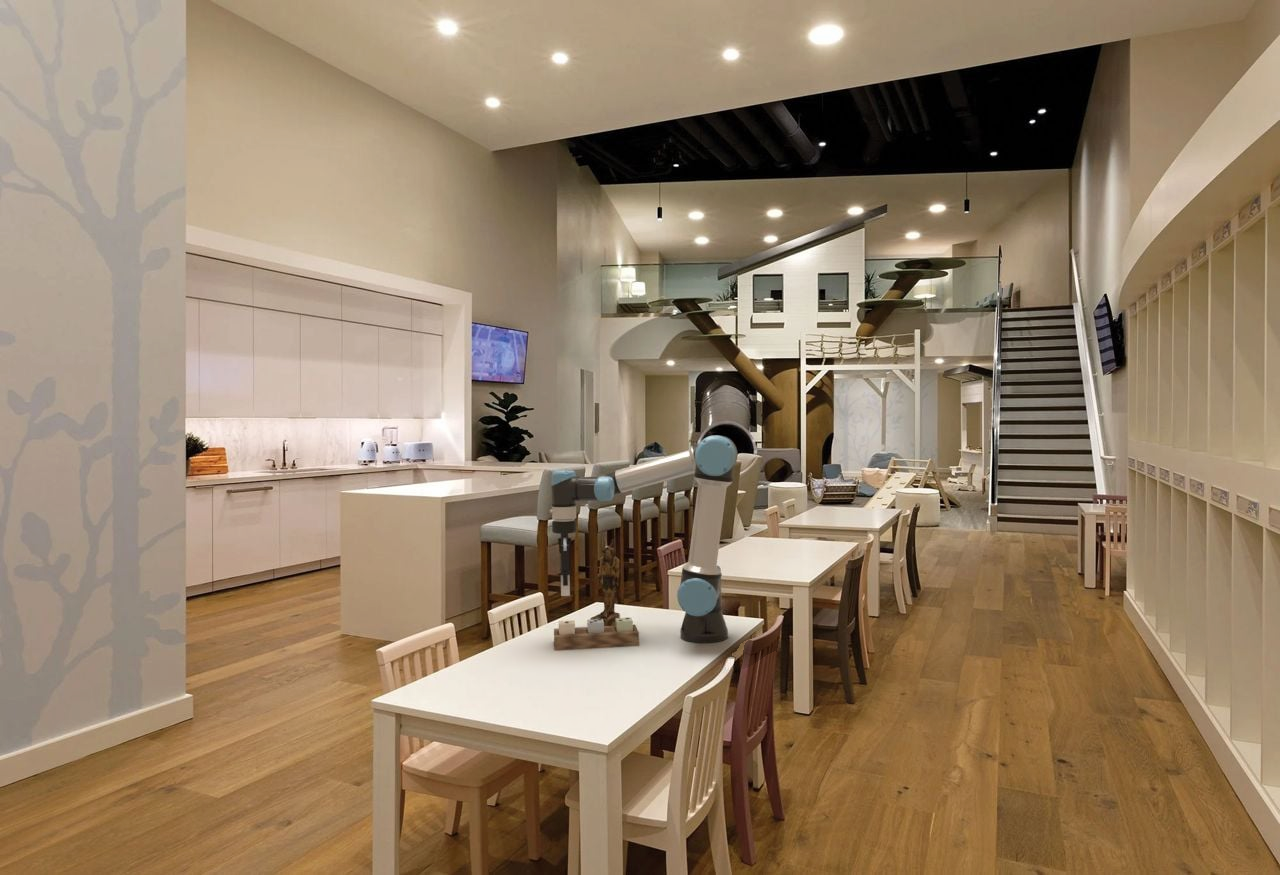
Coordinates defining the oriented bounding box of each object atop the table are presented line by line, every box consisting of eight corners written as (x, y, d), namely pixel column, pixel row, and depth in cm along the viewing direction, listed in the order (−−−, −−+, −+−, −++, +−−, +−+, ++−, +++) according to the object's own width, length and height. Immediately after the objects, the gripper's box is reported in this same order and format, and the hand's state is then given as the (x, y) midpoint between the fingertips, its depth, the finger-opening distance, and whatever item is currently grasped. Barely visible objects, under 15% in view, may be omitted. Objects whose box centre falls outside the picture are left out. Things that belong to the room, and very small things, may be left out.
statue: (589, 631, 268) (587, 541, 268) (603, 623, 278) (601, 537, 278) (611, 632, 265) (609, 542, 265) (624, 625, 275) (621, 537, 275)
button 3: (603, 631, 255) (602, 618, 255) (604, 635, 250) (603, 621, 250) (587, 632, 254) (587, 619, 254) (588, 636, 249) (587, 622, 249)
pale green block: (631, 630, 256) (631, 616, 256) (633, 633, 251) (632, 620, 251) (615, 630, 255) (615, 617, 255) (617, 634, 250) (616, 621, 250)
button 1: (574, 633, 254) (574, 619, 254) (575, 636, 249) (574, 623, 249) (558, 633, 253) (558, 620, 253) (559, 637, 248) (558, 624, 248)
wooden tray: (635, 636, 259) (634, 624, 259) (639, 645, 248) (638, 632, 248) (554, 641, 256) (553, 628, 256) (554, 650, 245) (554, 637, 245)
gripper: (551, 518, 257) (553, 591, 257) (552, 522, 244) (553, 600, 244) (575, 517, 258) (576, 591, 258) (576, 521, 245) (578, 599, 245)
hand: (565, 595), depth 251 cm, fingers closed
